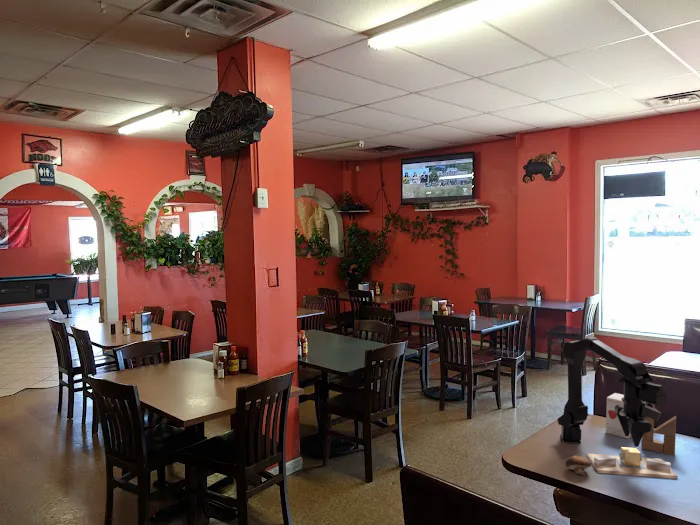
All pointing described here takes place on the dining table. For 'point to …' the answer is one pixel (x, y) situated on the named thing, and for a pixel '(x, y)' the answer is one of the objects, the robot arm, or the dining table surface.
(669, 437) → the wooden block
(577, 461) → the mushroom
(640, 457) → the block
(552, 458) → the dining table surface
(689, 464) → the dining table surface
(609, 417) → the supplement box
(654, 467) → the tan board grey square
